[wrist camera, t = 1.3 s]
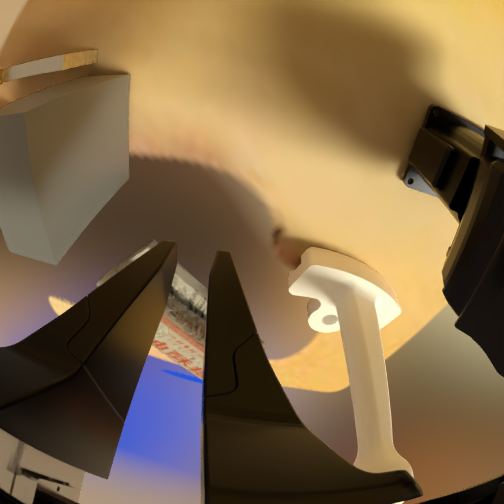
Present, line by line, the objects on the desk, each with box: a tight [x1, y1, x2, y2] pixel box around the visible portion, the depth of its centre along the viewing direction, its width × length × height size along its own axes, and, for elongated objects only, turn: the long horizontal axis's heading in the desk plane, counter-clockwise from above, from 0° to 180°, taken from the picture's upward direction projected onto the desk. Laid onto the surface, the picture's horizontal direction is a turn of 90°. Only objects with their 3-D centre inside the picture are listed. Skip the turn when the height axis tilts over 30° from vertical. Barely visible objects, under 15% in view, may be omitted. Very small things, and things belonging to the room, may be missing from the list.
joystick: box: [289, 247, 414, 504], centre depth 19 cm, size 11×8×20 cm
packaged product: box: [96, 240, 265, 380], centre depth 29 cm, size 18×5×10 cm
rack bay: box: [0, 49, 98, 84], centre depth 15 cm, size 10×12×8 cm
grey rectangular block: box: [0, 74, 130, 265], centre depth 14 cm, size 4×8×10 cm, turn 171°
